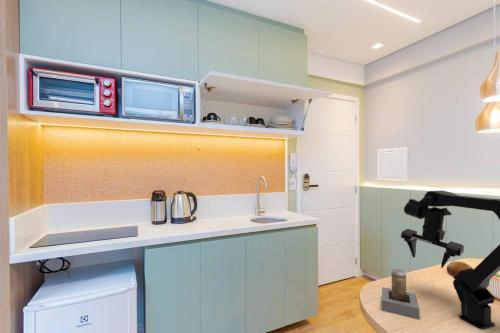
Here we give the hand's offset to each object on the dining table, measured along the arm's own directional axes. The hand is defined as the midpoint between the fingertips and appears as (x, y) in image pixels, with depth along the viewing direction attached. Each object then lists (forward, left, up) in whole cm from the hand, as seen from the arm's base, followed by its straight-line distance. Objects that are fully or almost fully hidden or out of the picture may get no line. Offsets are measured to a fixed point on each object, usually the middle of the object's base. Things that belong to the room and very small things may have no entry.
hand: (427, 262), depth 95 cm
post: (-2, +16, -14) cm, 21 cm away
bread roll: (+11, -33, -14) cm, 38 cm away
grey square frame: (-2, +16, -14) cm, 21 cm away
